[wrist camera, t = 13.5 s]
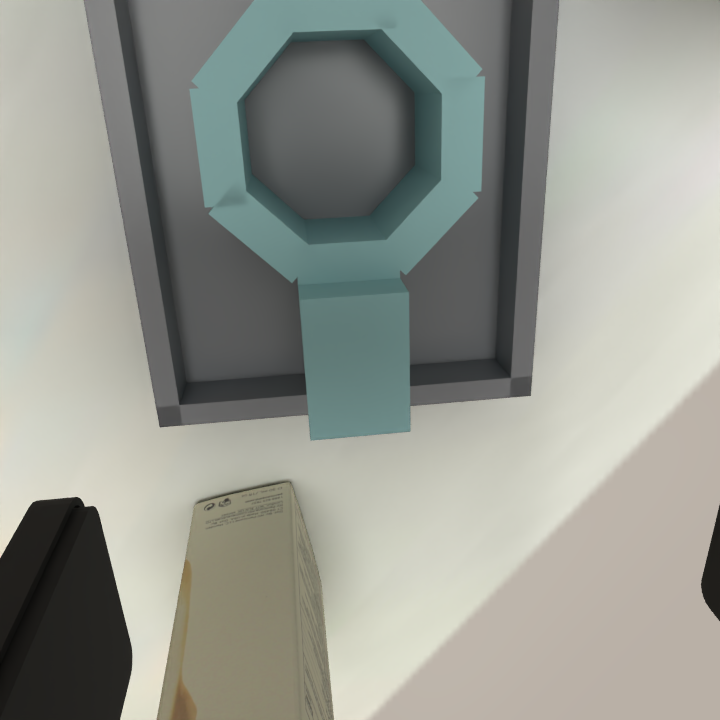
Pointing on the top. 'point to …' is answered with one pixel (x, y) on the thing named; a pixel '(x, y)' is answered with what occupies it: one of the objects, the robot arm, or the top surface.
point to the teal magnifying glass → (347, 234)
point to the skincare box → (248, 616)
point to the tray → (321, 202)
